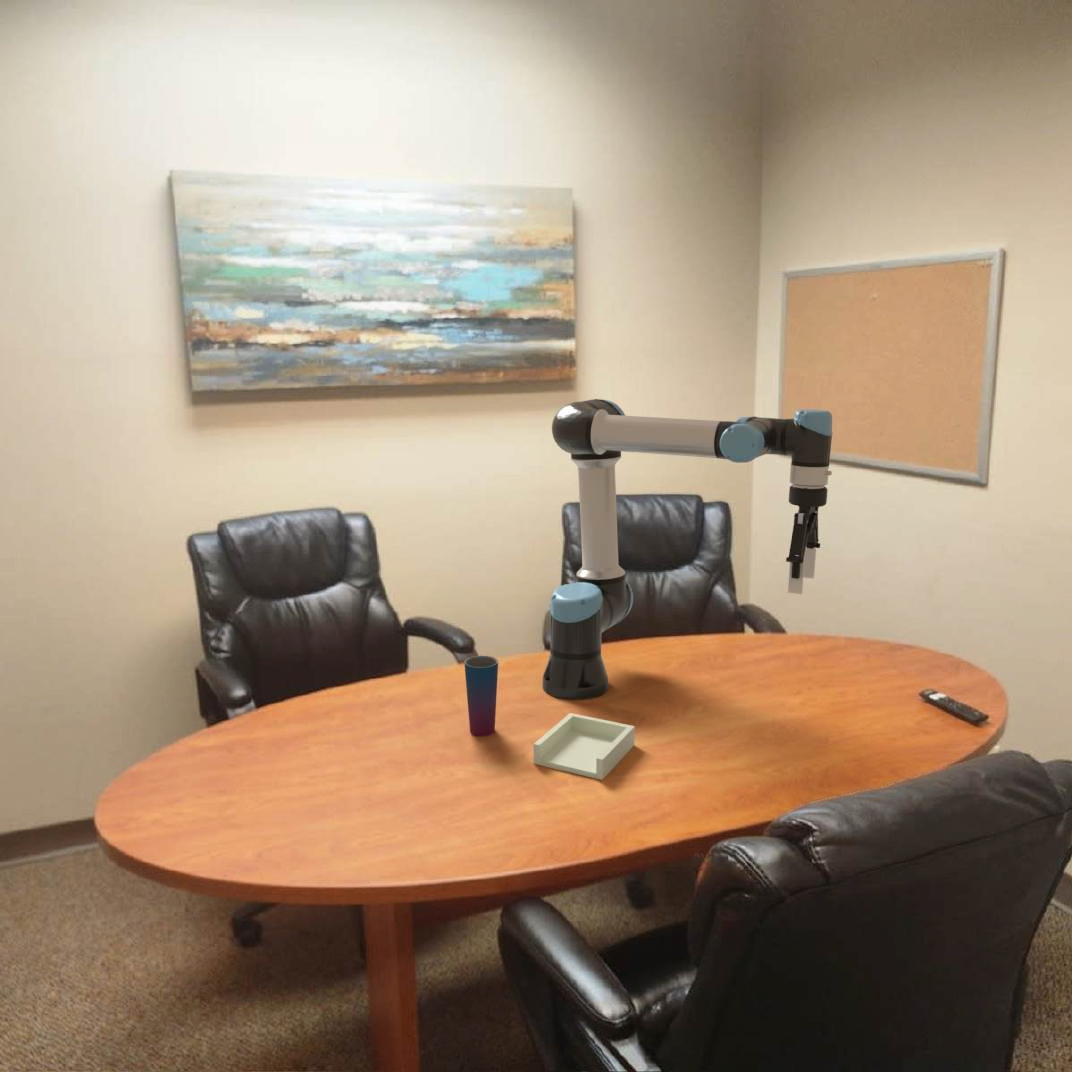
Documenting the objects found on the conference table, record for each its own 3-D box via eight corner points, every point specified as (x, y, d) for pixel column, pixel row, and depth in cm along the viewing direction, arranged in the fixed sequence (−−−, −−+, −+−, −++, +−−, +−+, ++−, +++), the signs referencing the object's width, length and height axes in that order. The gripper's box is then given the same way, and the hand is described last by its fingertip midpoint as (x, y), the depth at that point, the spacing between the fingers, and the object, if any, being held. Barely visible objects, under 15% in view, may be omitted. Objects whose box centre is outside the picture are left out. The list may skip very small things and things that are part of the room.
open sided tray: (533, 763, 166) (533, 743, 165) (570, 731, 180) (570, 712, 179) (602, 780, 160) (602, 759, 159) (634, 745, 174) (634, 726, 173)
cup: (459, 733, 179) (457, 663, 176) (476, 721, 185) (475, 653, 182) (488, 740, 176) (487, 669, 173) (505, 727, 182) (504, 658, 179)
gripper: (816, 496, 169) (808, 602, 174) (836, 478, 191) (829, 573, 196) (777, 493, 173) (770, 597, 177) (801, 476, 194) (794, 569, 199)
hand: (801, 585), depth 187 cm, fingers open, 13 cm apart
